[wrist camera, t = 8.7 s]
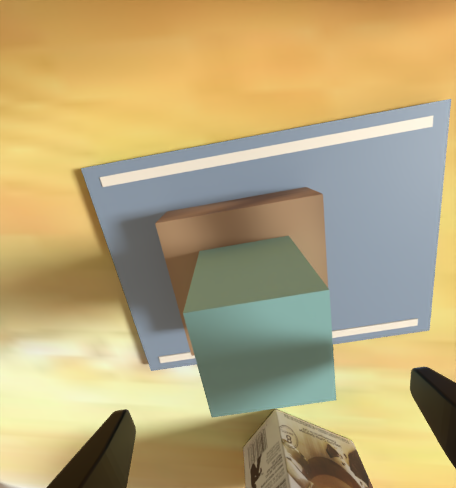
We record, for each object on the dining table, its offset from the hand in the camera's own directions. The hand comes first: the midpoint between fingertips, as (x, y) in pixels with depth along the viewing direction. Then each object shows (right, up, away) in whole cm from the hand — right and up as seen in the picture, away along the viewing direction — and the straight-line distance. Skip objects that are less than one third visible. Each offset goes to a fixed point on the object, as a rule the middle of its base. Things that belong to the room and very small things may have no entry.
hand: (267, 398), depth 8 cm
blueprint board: (+2, +4, +11) cm, 11 cm away
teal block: (0, +3, +7) cm, 8 cm away
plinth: (0, +4, +10) cm, 11 cm away
